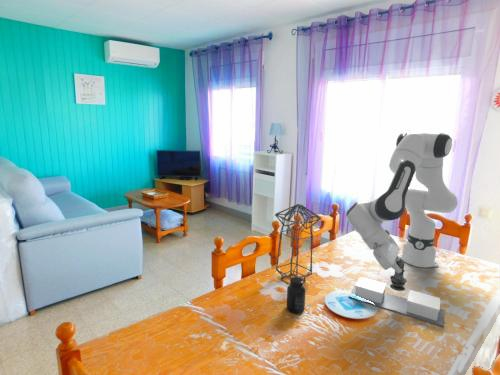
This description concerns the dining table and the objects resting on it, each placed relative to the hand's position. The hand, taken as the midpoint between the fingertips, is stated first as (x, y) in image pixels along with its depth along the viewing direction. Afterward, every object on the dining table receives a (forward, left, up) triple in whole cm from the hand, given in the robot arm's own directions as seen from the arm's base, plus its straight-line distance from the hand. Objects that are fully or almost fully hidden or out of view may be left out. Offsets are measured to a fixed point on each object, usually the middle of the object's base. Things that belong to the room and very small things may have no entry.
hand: (401, 269), depth 120 cm
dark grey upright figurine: (0, 0, -8) cm, 8 cm away
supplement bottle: (+26, -32, -15) cm, 44 cm away
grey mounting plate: (0, -1, -15) cm, 15 cm away
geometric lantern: (+5, -42, -15) cm, 45 cm away
